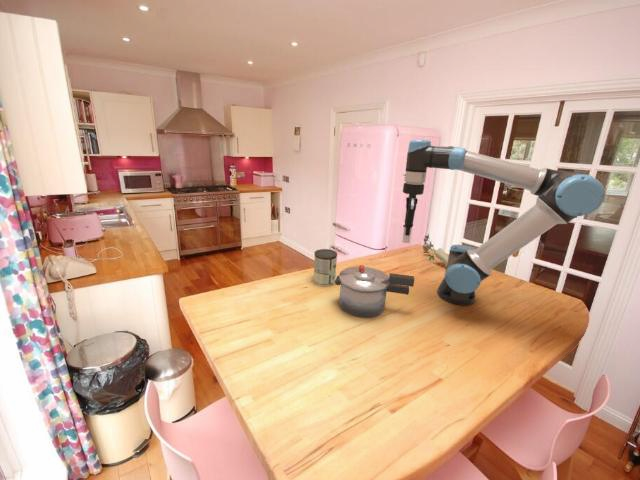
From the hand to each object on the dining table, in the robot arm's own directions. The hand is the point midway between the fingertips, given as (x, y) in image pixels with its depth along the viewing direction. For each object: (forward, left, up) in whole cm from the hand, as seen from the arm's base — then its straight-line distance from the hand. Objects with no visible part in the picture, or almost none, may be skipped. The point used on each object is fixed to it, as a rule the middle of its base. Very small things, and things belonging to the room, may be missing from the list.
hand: (405, 242), depth 120 cm
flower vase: (-23, -45, -25) cm, 56 cm away
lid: (+10, +11, -14) cm, 20 cm away
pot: (+11, +12, -25) cm, 30 cm away
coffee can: (+33, -4, -25) cm, 42 cm away
